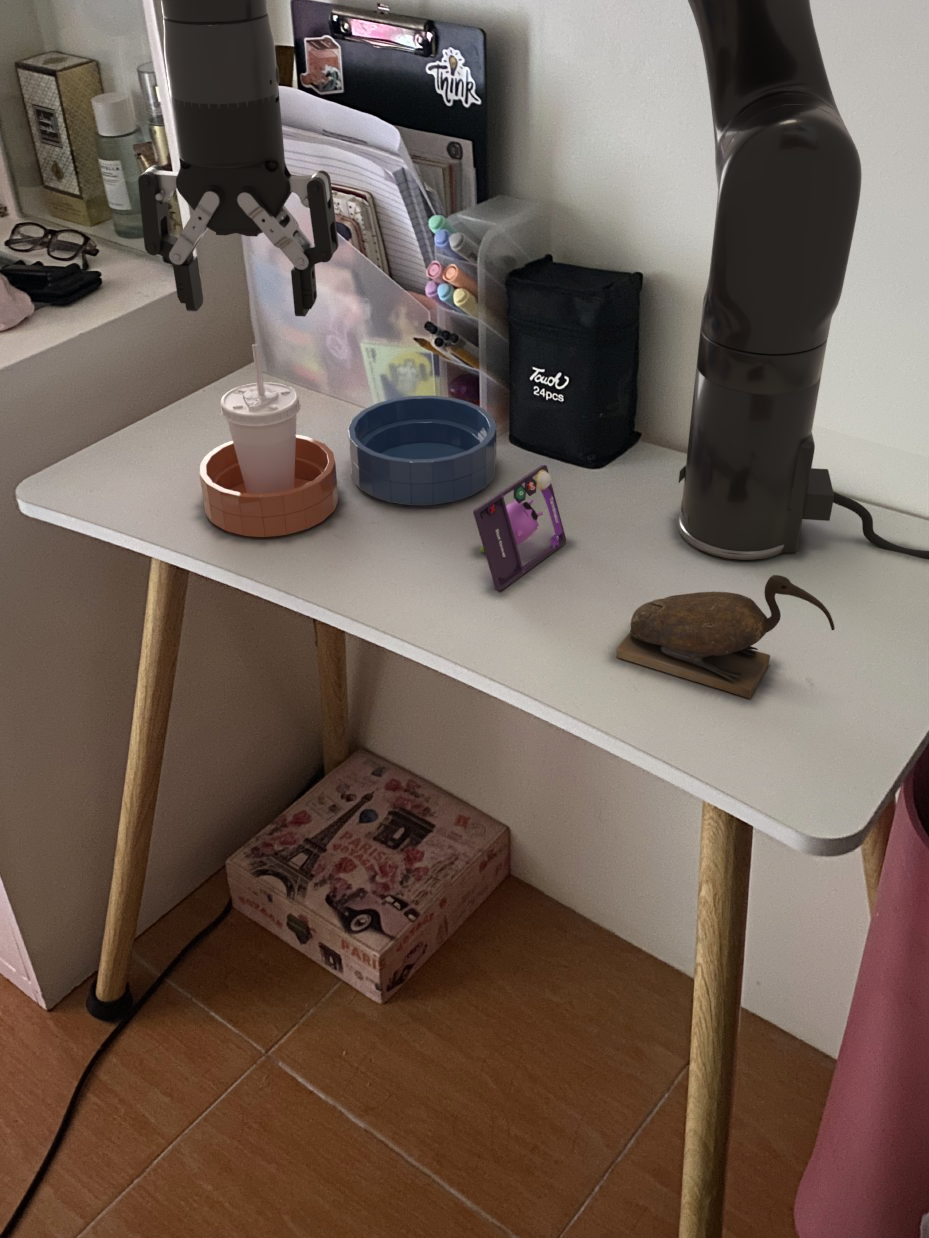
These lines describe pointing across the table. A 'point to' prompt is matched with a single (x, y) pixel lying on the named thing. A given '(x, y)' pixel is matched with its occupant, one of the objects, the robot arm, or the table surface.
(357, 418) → the blue bowl
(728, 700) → the table surface
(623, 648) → the figurine
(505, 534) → the purple framed piece
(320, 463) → the terracotta bowl
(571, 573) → the table surface
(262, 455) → the smoothie
